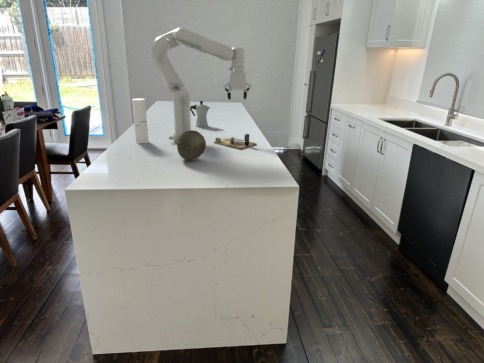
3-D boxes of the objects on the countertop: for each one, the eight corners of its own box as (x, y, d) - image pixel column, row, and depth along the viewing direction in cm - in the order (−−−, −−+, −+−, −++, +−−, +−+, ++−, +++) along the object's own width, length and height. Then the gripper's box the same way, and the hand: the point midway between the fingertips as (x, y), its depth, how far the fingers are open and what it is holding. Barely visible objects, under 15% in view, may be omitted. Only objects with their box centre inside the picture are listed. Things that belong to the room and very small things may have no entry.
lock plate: (240, 149, 191) (240, 144, 190) (213, 142, 204) (213, 137, 202) (256, 144, 202) (256, 139, 201) (230, 138, 214) (230, 133, 213)
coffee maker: (211, 125, 249) (211, 100, 243) (209, 127, 241) (209, 102, 234) (191, 124, 250) (190, 99, 244) (188, 127, 242) (187, 101, 236)
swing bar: (229, 143, 200) (229, 133, 197) (231, 141, 202) (231, 132, 200) (248, 145, 196) (248, 135, 194) (249, 144, 199) (250, 134, 196)
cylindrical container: (149, 143, 201) (145, 100, 192) (136, 143, 198) (132, 100, 189) (147, 140, 207) (144, 98, 198) (135, 140, 204) (131, 98, 195)
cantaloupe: (179, 165, 164) (177, 135, 159) (176, 156, 177) (175, 128, 172) (208, 163, 168) (207, 133, 163) (203, 155, 181) (202, 127, 175)
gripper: (224, 70, 195) (224, 100, 201) (253, 70, 200) (252, 99, 206) (221, 69, 201) (221, 98, 208) (249, 69, 206) (248, 98, 213)
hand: (237, 99), depth 207 cm, fingers open, 9 cm apart
